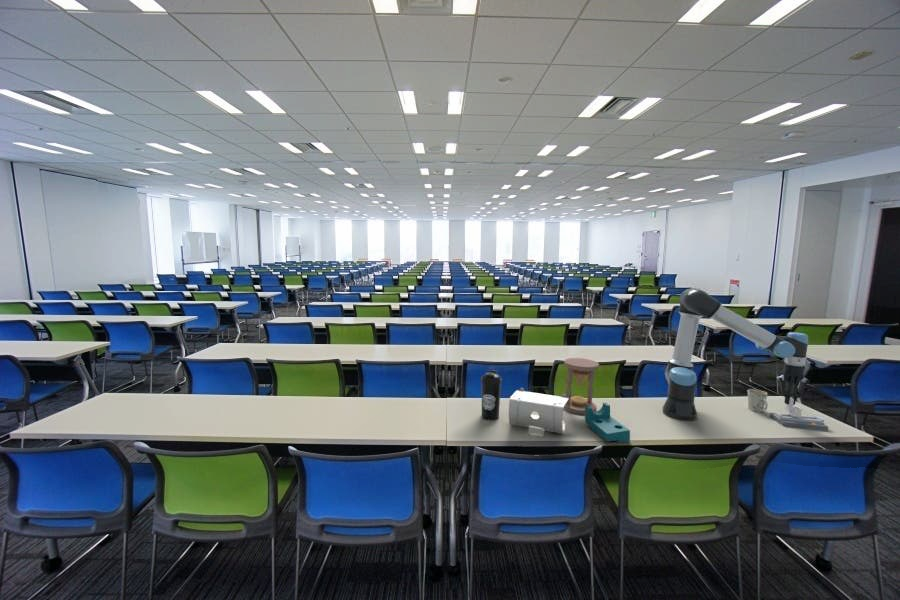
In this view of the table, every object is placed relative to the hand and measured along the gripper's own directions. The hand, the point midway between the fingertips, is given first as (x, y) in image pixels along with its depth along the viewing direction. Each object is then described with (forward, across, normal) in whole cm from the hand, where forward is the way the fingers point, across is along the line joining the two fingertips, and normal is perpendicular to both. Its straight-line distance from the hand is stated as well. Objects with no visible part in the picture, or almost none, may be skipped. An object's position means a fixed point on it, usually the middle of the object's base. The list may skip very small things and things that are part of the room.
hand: (788, 410), depth 185 cm
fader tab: (+4, +2, 0) cm, 4 cm away
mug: (+6, -7, +12) cm, 15 cm away
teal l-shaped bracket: (+6, -90, -38) cm, 98 cm away
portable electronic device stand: (+6, -120, -40) cm, 127 cm away
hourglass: (+6, -100, -11) cm, 100 cm away
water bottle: (+6, -144, -36) cm, 148 cm away
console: (+6, +4, 0) cm, 7 cm away
